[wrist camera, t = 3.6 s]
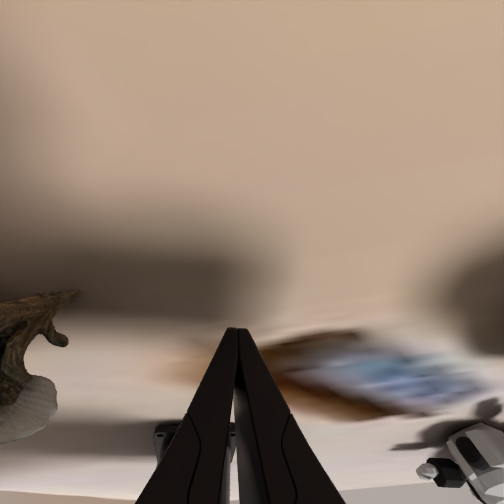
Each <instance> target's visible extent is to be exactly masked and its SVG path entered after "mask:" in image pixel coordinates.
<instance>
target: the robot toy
mask: <svg viewBox="0 0 504 504" xmlns="http://www.w3.org/2000/svg"><path fill="white" fill-rule="evenodd" d="M446 444H447V445H448V447H449V451H450V453H451V454H452V456H453V457H454V459H455V460H456V462H457V463H458V464H457V463H455V462H454V461H452V460H451V459H446V458H429V459H428V460H427V462H426V463H425V464H422V465H420V466H419V468H417V469H416V472H417V474H418V476H419V477H420V478H421V479H424V480H430V479H433V480H434V481H435V483H436V484H437V486H438V487H449V488H450V487H451V488H460V487H461V486H463V484H464V483H465V482H467V484H468V485H469V487H470V491H471V493H472V495H473V496H474V497H475V498H477V499H478V500H480V501H481V502H482V503H483V504H504V433H503V432H502V431H500V430H497V429H495V428H492V427H490V426H487V425H485V424H483V423H482V422H481V423H478V424H475V425H472V426H470V427H467V428H465V429H462V430H460V431H459V432H457V433H455V434H454V435H452V436H451V437H449V441H448V442H447V443H446Z"/></svg>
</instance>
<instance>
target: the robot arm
mask: <svg viewBox="0 0 504 504" xmlns="http://www.w3.org/2000/svg"><path fill="white" fill-rule="evenodd" d="M233 399H234V416H235V426H229V424H230V416H231V409H232V401H233ZM290 412H291V411H290V409H289V407H288V405H287V403H286V401H285V400H284V398H283V396H282V394H281V392H280V390H279V388H278V386H277V384H276V382H275V380H274V378H273V377H272V375H271V373H270V371H269V369H268V367H267V365H266V363H265V361H264V359H263V357H262V355H261V354H260V352H259V350H258V348H257V346H256V344H255V342H254V340H253V338H252V336H251V334H250V332H249V331H248V329H246V328H238V329H237V328H232V327H228V328H227V329H226V331H225V334H224V336H223V338H222V340H221V342H220V344H219V346H218V348H217V350H216V352H215V354H214V356H213V358H212V360H211V362H210V364H209V367H208V369H207V371H206V373H205V375H204V377H203V379H202V381H201V383H200V385H199V387H198V389H197V391H196V393H195V395H194V397H193V400H192V402H191V404H190V406H189V408H188V410H187V413H186V414H185V416H184V418H183V420H182V422H181V424H180V426H158V427H156V428H155V431H154V435H153V437H154V443H155V450H156V456H157V467H156V470H155V471H154V473H153V475H152V476H151V478H150V480H149V481H148V483H147V484H146V486H145V488H144V489H143V491H142V493H141V494H140V496H139V498H138V499H137V501H136V503H135V504H230V503H229V502H230V463H231V462H232V459H233V456H234V452H235V449H237V466H238V483H239V500H240V504H346V503H345V501H344V500H343V498H342V497H341V495H340V494H339V492H338V490H337V489H336V487H335V486H334V484H333V483H332V481H331V480H330V478H329V476H328V475H327V473H326V472H325V470H324V469H323V467H322V465H321V464H320V462H319V461H318V459H317V457H316V456H315V454H314V452H313V451H312V449H311V448H310V446H309V444H308V442H307V441H306V439H305V437H304V435H303V433H302V432H301V430H300V428H299V426H298V424H297V422H296V420H295V419H294V417H293V415H292V414H290Z"/></svg>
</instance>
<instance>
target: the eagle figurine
mask: <svg viewBox="0 0 504 504" xmlns="http://www.w3.org/2000/svg"><path fill="white" fill-rule="evenodd" d="M79 295H80V292H79V291H78V290H74V291H69V292H58V293H55V292H52V291H50V292H44V293H42V294H40V293H37V294H34V295H31V296H30V297H27V298H23V299H20V300H18V301H15V300H13V301H8V302H2V303H0V444H3V443H7V442H11V441H14V440H18V439H22V438H26V437H30V436H32V435H33V434H35V433H36V432H38V431H40V430H42V429H44V428H45V427H46V426H47V424H48V422H49V420H50V418H51V417H52V416H53V415H54V413H55V412H56V410H57V407H58V404H57V400H56V397H57V391H56V389H55V385H54V383H53V382H52V381H51V380H50V379H48V378H46V377H42V376H37V375H30V374H29V373H28V372H27V369H25V366H24V360H23V358H24V354H25V351H26V349H27V347H28V345H29V344H30V342H31V341H32V340H33V339H34V338H35V336H36V335H38V334H43V335H44V336H45V338H46V339H47V340H48V341H49V343H51V344H53V345H56V346H59V347H66V346H67V345H68V338H67V337H66V336H65V335H63V334H60V333H58V332H56V330H55V327H54V325H53V323H52V318H53V317H54V316H55V315H56V314H57V313H58V312H59V311H60V310H61V308H63V307H64V306H65V305H67V304H68V303H70V302H72V301H74V300H75V299H76V298H78V296H79Z"/></svg>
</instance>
